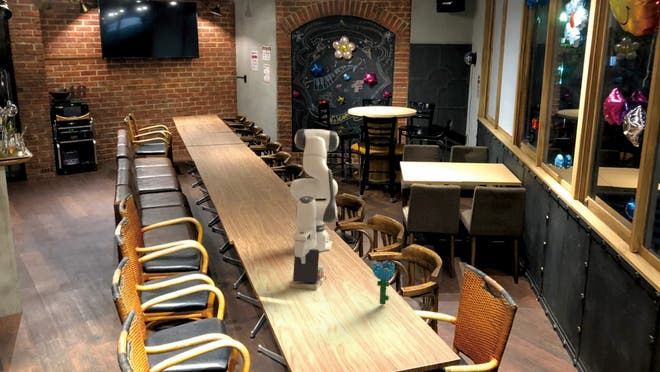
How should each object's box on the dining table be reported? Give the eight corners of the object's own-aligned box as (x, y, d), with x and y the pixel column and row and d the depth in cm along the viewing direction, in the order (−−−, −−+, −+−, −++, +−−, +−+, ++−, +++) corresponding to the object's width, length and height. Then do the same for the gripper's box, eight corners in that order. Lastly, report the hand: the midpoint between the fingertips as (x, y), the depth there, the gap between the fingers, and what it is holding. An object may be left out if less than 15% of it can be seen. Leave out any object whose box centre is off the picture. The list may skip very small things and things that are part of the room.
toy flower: (368, 302, 258) (369, 262, 254) (384, 298, 263) (385, 259, 259) (380, 309, 250) (382, 268, 247) (397, 305, 255) (398, 264, 252)
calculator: (316, 281, 277) (318, 249, 277) (317, 282, 273) (319, 250, 273) (292, 280, 275) (294, 248, 275) (293, 281, 271) (295, 249, 271)
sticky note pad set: (301, 276, 289) (301, 262, 288) (326, 279, 285) (326, 265, 284) (289, 286, 275) (289, 272, 274) (316, 290, 271) (316, 275, 270)
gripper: (307, 226, 283) (307, 254, 285) (292, 237, 263) (291, 266, 266) (320, 227, 281) (319, 255, 283) (305, 238, 262) (305, 268, 264)
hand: (306, 261), depth 275 cm, fingers closed on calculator, 5 cm apart
